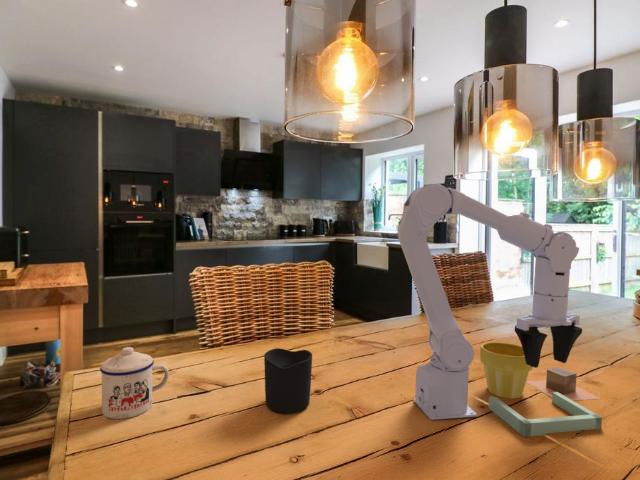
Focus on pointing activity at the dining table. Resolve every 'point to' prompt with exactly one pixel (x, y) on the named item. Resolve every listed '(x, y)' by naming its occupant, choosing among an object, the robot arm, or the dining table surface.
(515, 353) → the plant pot
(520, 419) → the frame
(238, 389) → the dining table surface
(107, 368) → the teacup with lid
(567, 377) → the walnut block
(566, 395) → the terracotta mat
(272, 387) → the pen holder
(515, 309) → the dining table surface
